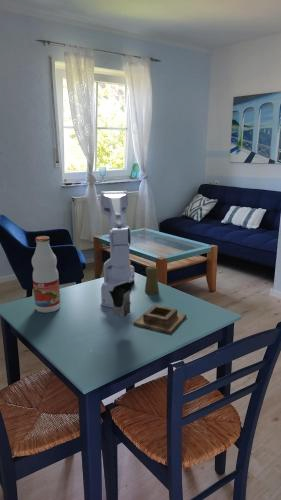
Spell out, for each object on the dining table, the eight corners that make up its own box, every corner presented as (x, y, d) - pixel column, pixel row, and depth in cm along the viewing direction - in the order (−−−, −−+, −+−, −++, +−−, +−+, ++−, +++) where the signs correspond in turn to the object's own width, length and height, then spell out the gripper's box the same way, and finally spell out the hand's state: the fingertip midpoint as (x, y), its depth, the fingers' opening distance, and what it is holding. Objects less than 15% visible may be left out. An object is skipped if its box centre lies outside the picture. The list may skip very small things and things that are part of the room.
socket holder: (133, 324, 132) (133, 315, 131) (151, 309, 144) (151, 300, 143) (170, 333, 126) (170, 324, 125) (186, 317, 137) (186, 308, 136)
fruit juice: (64, 304, 149) (60, 235, 141) (53, 314, 140) (47, 241, 133) (43, 301, 152) (37, 233, 144) (30, 311, 143) (23, 239, 135)
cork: (157, 294, 158) (157, 269, 155) (143, 293, 159) (143, 268, 156) (159, 289, 163) (160, 265, 160) (146, 288, 164) (146, 264, 161)
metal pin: (113, 314, 125) (112, 292, 123) (119, 310, 128) (119, 288, 126) (124, 317, 123) (123, 294, 121) (130, 312, 126) (129, 290, 124)
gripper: (119, 273, 113) (120, 315, 117) (142, 260, 125) (142, 298, 129) (99, 269, 116) (101, 310, 120) (124, 257, 128) (124, 294, 132)
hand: (121, 304), depth 125 cm, fingers closed on metal pin, 4 cm apart
